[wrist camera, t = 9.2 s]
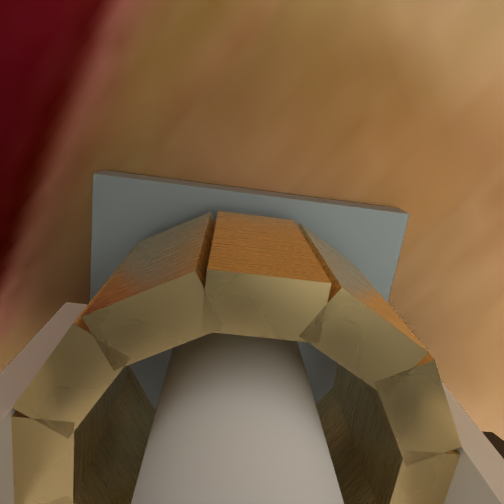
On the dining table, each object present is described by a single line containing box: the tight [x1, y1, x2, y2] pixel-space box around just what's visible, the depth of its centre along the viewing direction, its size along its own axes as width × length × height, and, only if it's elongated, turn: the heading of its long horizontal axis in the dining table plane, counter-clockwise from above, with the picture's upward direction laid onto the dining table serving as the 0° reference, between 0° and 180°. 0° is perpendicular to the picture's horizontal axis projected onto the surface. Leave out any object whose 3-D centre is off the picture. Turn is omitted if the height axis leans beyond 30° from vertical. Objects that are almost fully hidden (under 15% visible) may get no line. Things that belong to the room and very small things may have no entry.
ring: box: [11, 211, 462, 504], centre depth 11 cm, size 9×9×5 cm
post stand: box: [90, 170, 409, 504], centre depth 11 cm, size 10×10×10 cm
